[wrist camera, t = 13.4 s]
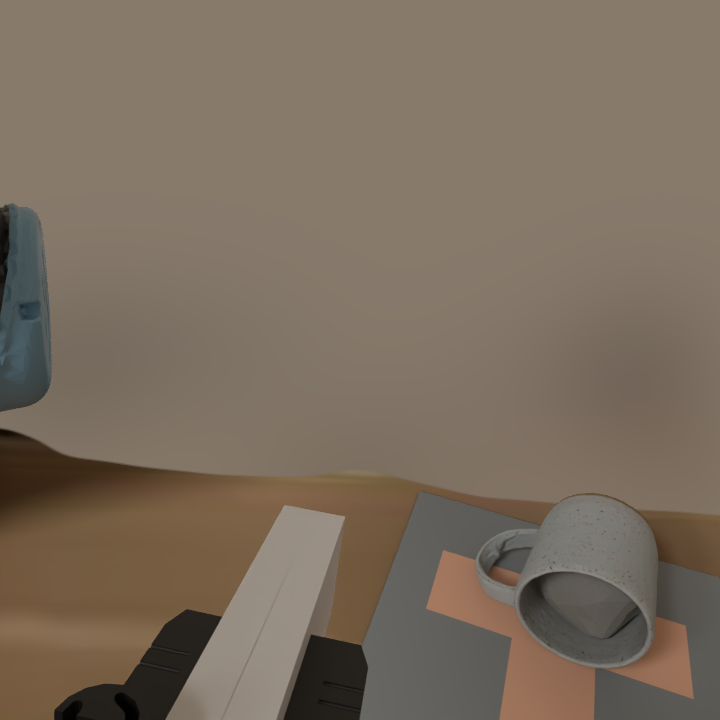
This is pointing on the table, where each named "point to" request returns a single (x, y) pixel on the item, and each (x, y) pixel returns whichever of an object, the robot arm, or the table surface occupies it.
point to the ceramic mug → (583, 581)
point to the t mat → (521, 638)
